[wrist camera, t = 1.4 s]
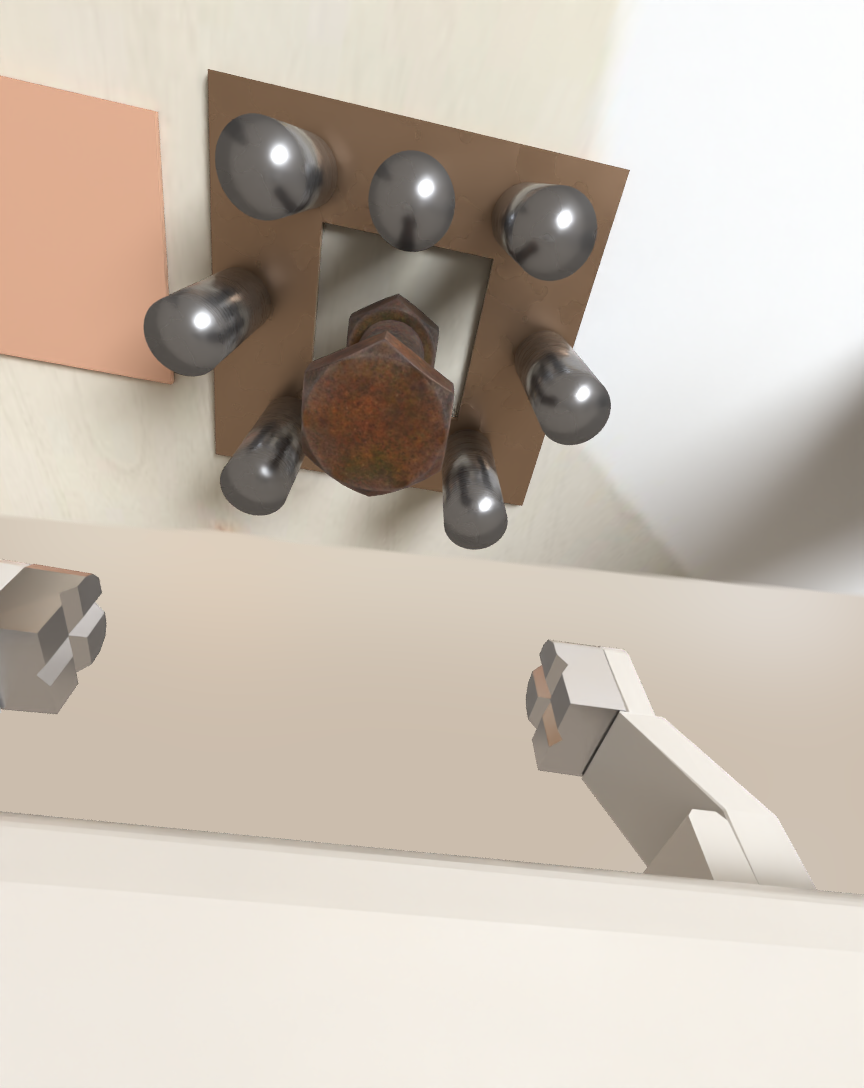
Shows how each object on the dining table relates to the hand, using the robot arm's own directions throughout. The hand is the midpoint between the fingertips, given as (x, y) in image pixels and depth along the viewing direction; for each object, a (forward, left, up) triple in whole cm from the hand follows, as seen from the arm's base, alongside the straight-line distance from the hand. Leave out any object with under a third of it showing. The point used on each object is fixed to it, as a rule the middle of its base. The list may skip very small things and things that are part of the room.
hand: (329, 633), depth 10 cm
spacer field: (0, 0, -25) cm, 25 cm away
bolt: (0, 0, -26) cm, 26 cm away
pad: (+19, -1, -25) cm, 32 cm away
